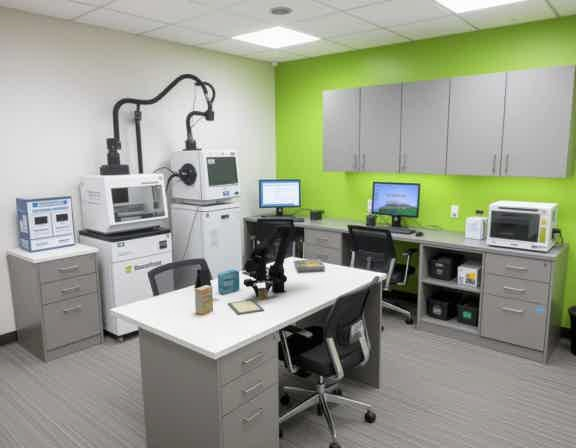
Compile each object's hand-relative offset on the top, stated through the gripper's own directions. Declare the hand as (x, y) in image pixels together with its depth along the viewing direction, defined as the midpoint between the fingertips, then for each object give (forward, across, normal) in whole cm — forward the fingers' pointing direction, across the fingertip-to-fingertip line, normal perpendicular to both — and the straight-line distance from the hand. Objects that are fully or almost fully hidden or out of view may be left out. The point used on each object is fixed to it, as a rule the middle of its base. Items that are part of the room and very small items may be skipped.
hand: (261, 296), depth 251 cm
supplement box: (+1, +34, +9) cm, 35 cm away
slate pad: (+1, +13, +11) cm, 17 cm away
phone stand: (+1, +25, -32) cm, 41 cm away
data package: (+1, +13, -19) cm, 23 cm away
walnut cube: (+1, 0, 0) cm, 1 cm away
